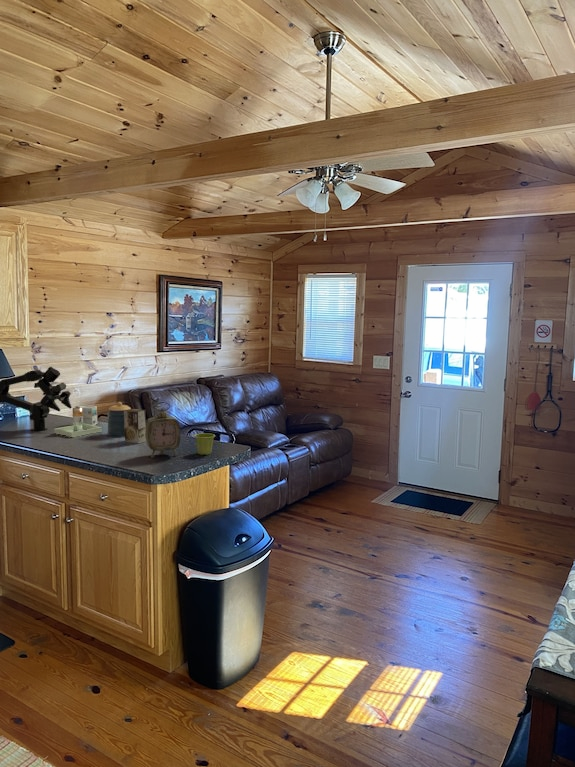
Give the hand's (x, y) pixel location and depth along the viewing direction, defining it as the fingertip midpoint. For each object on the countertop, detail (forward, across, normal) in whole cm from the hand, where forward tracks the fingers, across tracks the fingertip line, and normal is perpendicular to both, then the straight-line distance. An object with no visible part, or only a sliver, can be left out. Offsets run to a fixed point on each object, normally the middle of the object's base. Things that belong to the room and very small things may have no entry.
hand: (65, 409), depth 310 cm
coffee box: (+42, -7, -24) cm, 49 cm away
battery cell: (+14, 0, +3) cm, 14 cm away
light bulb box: (+8, +19, +10) cm, 23 cm away
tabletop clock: (+61, -27, -42) cm, 79 cm away
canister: (+31, +4, -12) cm, 33 cm away
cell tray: (+14, 0, +4) cm, 14 cm away
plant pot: (+73, -17, -54) cm, 92 cm away
